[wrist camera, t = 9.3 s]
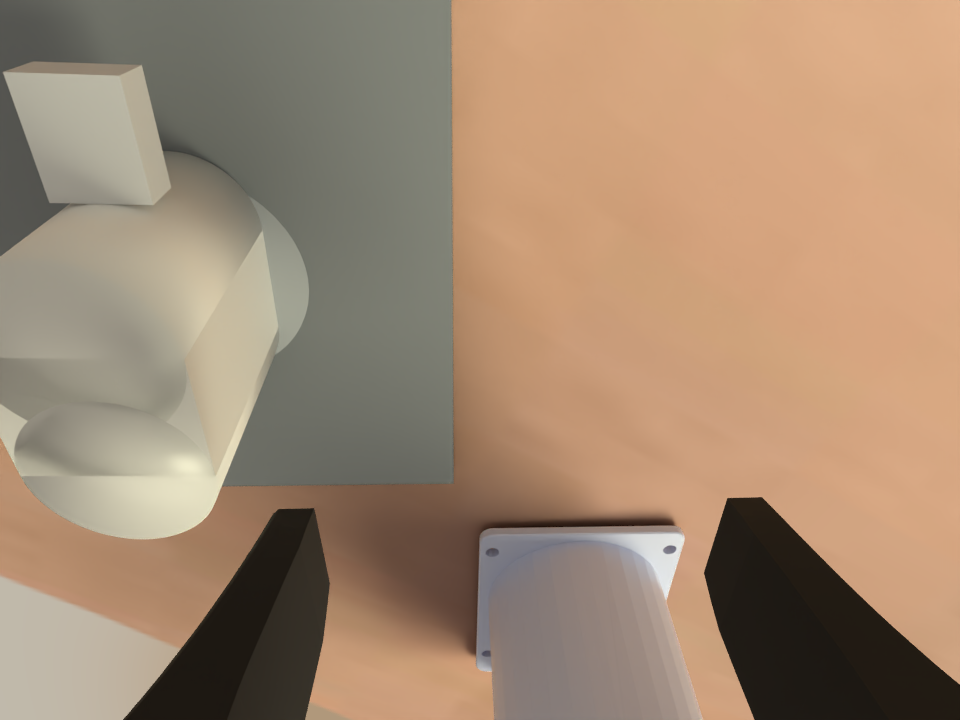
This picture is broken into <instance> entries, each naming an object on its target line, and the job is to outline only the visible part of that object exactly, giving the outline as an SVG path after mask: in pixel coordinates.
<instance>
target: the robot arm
mask: <svg viewBox="0 0 960 720" xmlns="http://www.w3.org/2000/svg"><path fill="white" fill-rule="evenodd" d="M684 540H685V537H684V534H683V531H682V530H681V528H679V527H677V526H672V525H671V526H604V527H536V528H490V529H487V530H485V531H483V532H482V533H481V534H480V539H479V574H478V608H477V642H476V666H477V668H478V669H479V670H482V671H492V685H493V704H494V720H703V718H702V715H701V712H700V708H699V705H698V702H697V699H696V696H695V692H694V689H693V686H692V683H691V680H690V676H689V673H688V670H687V667H686V664H685V660H684V657H683V654H682V651H681V648H680V644H679V641H678V638H677V635H676V632H675V628H674V625H673V622H672V619H671V615H670V612H669V609H668V606H667V603H666V600H667V596H668V593H669V590H670V586H671V583H672V580H673V577H674V573H675V570H676V567H677V563H678V560H679V557H680V553H681V550H682V547H683V544H684ZM490 548H494V549H490ZM704 575H705V579H706V583H707V587H708V590H709V594H710V598H711V602H712V606H713V610H714V613H715V617H716V620H717V624H718V628H719V631H720V633H721V636H722V639H723V641H724V644H725V646H726V649H727V652H728V654H729V657H730V659H731V662H732V664H733V667H734V669H735V672H736V674H737V677H738V679H739V682H740V684H741V687H742V689H743V692H744V694H745V697H746V699H747V702H748V704H749V707H750V709H751V712H752V714H753V717H754V719H755V720H960V685H959V684H958V683H957V682H956V681H955V680H953V679H952V678H951V677H950V676H949V675H947V674H946V673H945V672H944V671H943V670H941V669H940V668H939V667H938V666H937V665H935V664H934V663H933V662H932V661H931V660H930V659H928V658H927V657H926V656H925V655H924V654H923V653H922V652H921V651H919V650H918V649H917V648H916V647H915V646H914V645H913V644H912V643H910V642H909V641H908V640H907V639H906V638H905V637H904V636H903V635H901V634H900V633H899V632H898V631H897V630H896V629H895V628H893V627H892V626H891V625H890V624H889V623H888V622H887V621H886V620H885V619H884V618H883V617H882V616H881V615H879V614H878V613H877V612H876V611H875V610H874V609H873V608H872V607H871V606H870V605H869V604H868V603H867V602H866V601H865V600H864V599H863V598H862V597H861V596H859V595H858V594H857V593H856V592H855V591H854V590H853V589H852V588H851V587H850V586H849V585H848V584H847V583H846V582H845V581H844V580H843V579H842V578H841V577H840V576H839V575H838V574H837V573H836V572H835V571H834V570H833V569H832V568H831V567H830V566H829V565H828V564H827V563H826V562H825V561H824V560H823V559H822V558H821V557H820V556H819V555H818V554H817V553H816V552H815V551H814V550H813V549H812V548H811V547H810V546H809V545H808V544H807V543H806V542H805V541H804V540H803V539H802V538H801V537H800V536H799V535H798V534H797V533H796V532H795V531H794V530H793V529H792V528H791V527H790V526H789V524H788V523H787V522H786V521H785V520H784V519H783V518H782V517H781V516H780V515H779V514H778V513H777V512H776V511H775V510H774V509H773V508H772V507H771V506H770V505H769V504H768V503H767V502H766V501H765V500H764V499H763V498H762V497H758V498H727V501H726V505H725V508H724V511H723V514H722V517H721V521H720V524H719V527H718V530H717V533H716V536H715V540H714V543H713V546H712V549H711V552H710V556H709V559H708V562H707V565H706V568H705V572H704ZM329 585H330V582H329V577H328V573H327V568H326V563H325V558H324V553H323V548H322V544H321V539H320V534H319V529H318V524H317V519H316V515H315V510H314V508H310V509H278V510H277V511H276V512H275V513H274V514H273V515H272V517H271V519H270V520H269V522H268V524H267V525H266V527H265V528H264V530H263V532H262V533H261V535H260V537H259V538H258V540H257V541H256V543H255V545H254V546H253V548H252V549H251V551H250V552H249V554H248V555H247V557H246V559H245V560H244V562H243V563H242V565H241V566H240V568H239V569H238V571H237V572H236V574H235V575H234V577H233V578H232V580H231V581H230V583H229V584H228V585H227V587H226V588H225V590H224V591H223V592H222V594H221V595H220V597H219V598H218V600H217V601H216V602H215V604H214V605H213V607H212V608H211V609H210V611H209V612H208V614H207V615H206V617H205V618H204V619H203V621H202V622H201V623H200V625H199V626H198V628H197V629H196V630H195V632H194V633H193V634H192V635H191V637H190V638H189V639H188V641H187V642H186V643H185V644H184V646H183V647H182V648H181V650H180V651H179V652H178V653H177V655H176V656H175V657H174V659H173V660H172V661H171V663H170V664H169V665H168V666H167V668H166V669H165V670H164V672H163V673H162V674H161V675H160V677H159V678H158V679H157V680H156V681H155V683H154V684H153V685H152V686H151V688H150V689H149V690H148V691H147V692H146V694H145V695H144V696H143V697H142V698H141V700H140V701H139V702H138V703H137V704H136V705H135V707H134V708H133V709H132V710H131V712H129V714H128V715H127V716H126V717H125V718H124V719H123V720H305V717H306V713H307V709H308V704H309V700H310V696H311V692H312V687H313V683H314V678H315V674H316V670H317V665H318V661H319V657H320V652H321V648H322V643H323V636H324V628H325V620H326V612H327V603H328V594H329Z"/></svg>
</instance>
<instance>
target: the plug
mask: <svg viewBox="0 0 960 720" xmlns="http://www.w3.org/2000/svg"><path fill="white" fill-rule="evenodd" d="M3 74H4V77H5V79H6V82H7V85H8V88H9V91H10V94H11V96H12V99H13V102H14V105H15V108H16V110H17V113H18V116H19V119H20V122H21V124H22V127H23V130H24V133H25V136H26V138H27V141H28V144H29V147H30V150H31V152H32V155H33V158H34V161H35V164H36V166H37V169H38V172H39V175H40V178H41V180H42V183H43V186H44V189H45V192H46V195H47V197H48V200H49V203H70V204H69V205H68V206H66V207H65V208H64V209H62V210H61V211H60V212H59V213H57V214H56V215H55V216H53V217H52V218H51V219H49V220H48V221H47V222H45V223H44V224H43V225H41V226H40V227H39V228H37V229H36V230H35V231H33V232H32V233H31V234H29V235H28V236H27V237H25V238H24V239H23V240H21V241H20V242H19V243H17V244H16V245H15V246H14V247H12V248H11V249H10V250H8V251H7V252H6V253H4V254H3V255H2V256H0V437H1V439H2V441H3V443H4V445H5V447H6V449H7V451H8V453H9V455H10V457H11V459H12V461H13V462H14V464H15V466H16V468H17V470H18V472H19V474H20V476H21V478H22V479H23V481H24V483H25V484H26V486H27V487H28V488H29V490H30V491H31V492H32V493H33V494H34V495H35V496H36V497H37V498H38V499H39V500H40V501H41V502H42V503H43V504H44V505H46V506H47V507H48V508H49V509H51V510H52V511H54V512H55V513H57V514H58V515H60V516H61V517H63V518H65V519H67V520H68V521H70V522H72V523H74V524H77V525H79V526H81V527H83V528H86V529H89V530H92V531H94V532H98V533H102V534H105V535H109V536H114V537H120V538H128V539H158V538H165V537H169V536H174V535H177V534H180V533H183V532H185V531H187V530H189V529H191V528H193V527H195V526H196V525H198V524H199V523H200V522H202V521H203V520H204V519H205V518H206V517H207V516H208V514H209V513H210V512H211V510H212V509H213V506H214V504H215V502H216V499H217V497H218V494H219V492H220V489H221V487H222V484H223V482H224V479H225V477H226V474H227V472H228V469H229V467H230V465H231V462H232V460H233V457H234V455H235V452H236V450H237V447H238V445H239V442H240V440H241V437H242V435H243V432H244V430H245V427H246V425H247V422H248V420H249V417H250V415H251V412H252V410H253V407H254V405H255V403H256V400H257V398H258V395H259V393H260V390H261V388H262V385H263V383H264V380H265V378H266V375H267V373H268V370H269V368H270V365H271V363H272V360H273V358H274V355H275V353H276V350H277V347H278V343H279V327H278V321H277V315H276V309H275V303H274V297H273V290H272V284H271V278H270V272H269V266H268V260H267V254H266V248H265V242H264V236H263V230H262V226H261V221H260V218H259V216H258V213H257V211H256V209H255V207H254V205H253V203H252V201H251V200H250V198H249V197H248V195H247V194H246V192H245V191H244V190H243V189H242V188H241V187H240V185H239V184H238V183H237V182H236V181H235V180H234V179H232V178H231V177H230V176H229V175H228V174H226V173H225V172H224V171H222V170H221V169H220V168H218V167H216V166H215V165H213V164H211V163H209V162H207V161H205V160H203V159H201V158H198V157H195V156H192V155H189V154H185V153H180V152H173V151H162V147H161V143H160V139H159V134H158V130H157V126H156V122H155V118H154V114H153V110H152V105H151V101H150V97H149V93H148V89H147V85H146V81H145V76H144V72H143V68H142V65H127V64H97V63H67V62H36V61H33V62H30V63H27V64H24V65H21V66H19V67H16V68H13V69H10V70H7V71H4V72H3Z"/></svg>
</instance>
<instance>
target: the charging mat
mask: <svg viewBox="0 0 960 720" xmlns="http://www.w3.org/2000/svg"><path fill="white" fill-rule="evenodd" d="M33 61H36V62H67V63H97V64H127V65H142V68H143V72H144V76H145V81H146V85H147V89H148V93H149V97H150V101H151V105H152V110H153V114H154V118H155V122H156V126H157V130H158V134H159V139H160V143H161V147H162V151H173V152H180V153H185V154H189V155H192V156H195V157H198V158H201V159H203V160H205V161H207V162H209V163H211V164H213V165H215V166H216V167H218V168H220V169H221V170H222V171H224V172H225V173H226V174H228V175H229V176H230V177H231V178H232V179H234V180H235V181H236V182H237V183H238V184H239V185H240V187H241V188H242V189H243V190H244V191H245V192H246V194H247V195H248V197H249V198H250V200H251V201H252V203H253V205H254V207H255V209H256V211H257V213H258V216H259V218H260V221H261V226H262V230H263V236H264V242H265V248H266V254H267V260H268V266H269V272H270V278H271V284H272V290H273V297H274V303H275V309H276V315H277V321H278V327H279V343H278V347H277V350H276V353H275V355H274V358H273V360H272V363H271V365H270V368H269V370H268V373H267V375H266V378H265V380H264V383H263V385H262V388H261V390H260V393H259V395H258V398H257V400H256V403H255V405H254V407H253V410H252V412H251V415H250V417H249V420H248V422H247V425H246V427H245V430H244V432H243V435H242V437H241V440H240V442H239V445H238V447H237V450H236V452H235V455H234V457H233V460H232V462H231V465H230V467H229V469H228V472H227V474H226V477H225V479H224V482H223V484H222V486H293V485H376V484H454V462H453V258H452V53H451V0H0V256H2V255H3V254H4V253H6V252H7V251H8V250H10V249H11V248H12V247H14V246H15V245H16V244H17V243H19V242H20V241H21V240H23V239H24V238H25V237H27V236H28V235H29V234H31V233H32V232H33V231H35V230H36V229H37V228H39V227H40V226H41V225H43V224H44V223H45V222H47V221H48V220H49V219H51V218H52V217H53V216H55V215H56V214H57V213H59V212H60V211H61V210H62V209H64V208H65V207H66V206H68V205H69V204H70V203H49V200H48V197H47V195H46V192H45V189H44V186H43V183H42V180H41V178H40V175H39V172H38V169H37V166H36V164H35V161H34V158H33V155H32V152H31V150H30V147H29V144H28V141H27V138H26V136H25V133H24V130H23V127H22V124H21V122H20V119H19V116H18V113H17V110H16V108H15V105H14V102H13V99H12V96H11V94H10V91H9V88H8V85H7V82H6V79H5V77H4V74H3V72H4V71H7V70H10V69H13V68H16V67H19V66H21V65H24V64H27V63H30V62H33Z"/></svg>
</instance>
